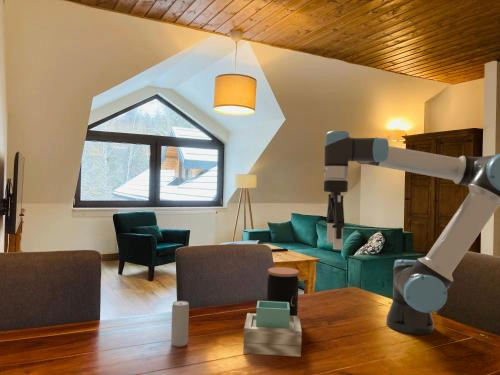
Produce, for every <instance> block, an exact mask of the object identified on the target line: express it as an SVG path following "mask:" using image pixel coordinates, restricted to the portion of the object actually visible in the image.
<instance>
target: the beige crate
mask: <svg viewBox="0 0 500 375" xmlns="http://www.w3.org/2000/svg"><path fill="white" fill-rule="evenodd" d="M302 336H303V335H302V326H301V320H300V316H299V315H297V316H290V317H289V329H282V328H264V327H256V313H250V312H247V314H246V319H245V323H244V327H243V350H242V351H243V352H242V353H243V354H254V355H267V356H268V355H270V356H285V357H287V356H288V357H300V358H301V357H302Z"/></svg>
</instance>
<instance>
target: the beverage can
mask: <svg viewBox="0 0 500 375" xmlns="http://www.w3.org/2000/svg"><path fill="white" fill-rule="evenodd" d="M189 311H190V304H189V302H188V301H186V300H176V301H174V302H172V307H171V338H170V340H171V345H172V346H173V347H178V348H181V347H185V346H186V345H187V344H188V342H189V318H190V317H189V315H190V314H189V313H190V312H189Z"/></svg>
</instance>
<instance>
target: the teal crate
mask: <svg viewBox="0 0 500 375" xmlns="http://www.w3.org/2000/svg"><path fill="white" fill-rule="evenodd" d="M256 303H257V304H256V309H255V312H256V313H255V314H256V327H264V328H282V329H289V317H290V307H289V302H273V301H267V300H257V302H256Z"/></svg>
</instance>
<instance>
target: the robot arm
mask: <svg viewBox="0 0 500 375" xmlns="http://www.w3.org/2000/svg"><path fill="white" fill-rule="evenodd" d="M350 136H351V135H350V133H349V132H348V131H346V130H331V131H328V132H327V133H325V137H324V138H325V139H324V168H323V169H322V172H323V173H324V174H323V175H324V176H323V177H324V178H323V179H325V180H324V181H323V191H324V192H325V193H326V192H327V193H329V194H328V195H327V196H328V198H327V199H328V200H327V201H328V202H327V210H326V211H327V212H326V222H327V226H326V228H327V231H326V232H327V233H326V243H327V244H330V243H331V244H332V243H333V245H332V246H333V248H332V249H333V250H339V251H340V250H343V247H344V246H343V245H344V244H343V242H344V227H345V226H346V224H345V211H344V210H345V209H344V195H342V193H347V192H348V191H349V190H348V189H349V188H348V187H349V182H348V180H347V179H349V162H356V163H358V164H360V165H369V166H375V167H381V168H386V169H393V170H398V171H402V172H408V173H414V174H418V175H423V176H424V175H425V176H429V177H435V178H439V179H440V178H441V179H445V180H451V181H452V182H454V184H455V185H460V186H465V187H468V190H469V192H468V194H467V196H466V198H464V200H463V201H462V203H461V204H460V206H459V208H458V209H457V210H456V212H455V213H454V215H453V216H452V218H451V219H450V220H449V222H448V224H447V225H446V226H445V228H444V229H443V230H442V232H441V234H440V235H439V237H438V238H437V239H436V241H435V242H434V244H433V246H432V247H431V248H430V250H429V251H428V252H427V254H426V256H423V257H418V258H417V259H415V260H414V259H400V258H399V259H395V260H394V264H393V279H392V280H393V281H392V282H393V284H392V286H393V287H392V302H391V305H390V308H389V310H388V313H387V315H386V320H385V321H386V326H388V327H389V328H390V329H391V330H393V331H397V332H399V333H404V334H409V335H416V336H418V335H430V334H432V333H434V329H435V328H434V326H435V325H434V324H435V323H434V321H433V316H432V313H433V312H437V311H439V310H440V309H442V308H443V307H444V305H445V304H446V302H447V299H448V290H449V288H450V287H451V286H452V283H453V282H454V277H453V272H454V271H455V270H456V268H457V266H458V265H459V264H460V262H461V261H462V259H463V258H464V256H465V255H466V254H467V252H468V251H469V249H470V248H471V246H472V245H473V244H474V242H475V241H476V239H477V237H479V235H480V233H481V232H482V231H483V229H484V228H485V226H486V225H487V224H488V222H490V221H489V220H490V219H491V217H492V216H493V215H494V214H495V212H496V210H497V209H498V208H499V207H500V153H497V154H493V155H486V156H468V155H467V156H466V155H461V156H459V157H455V156H447V155H443V154H436V153H431V152H426V151H422V150H421V151H419V150H414V149H408V148H403V147H397V146H390V145H389V141H388V139H387V138H385V137H350Z"/></svg>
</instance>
